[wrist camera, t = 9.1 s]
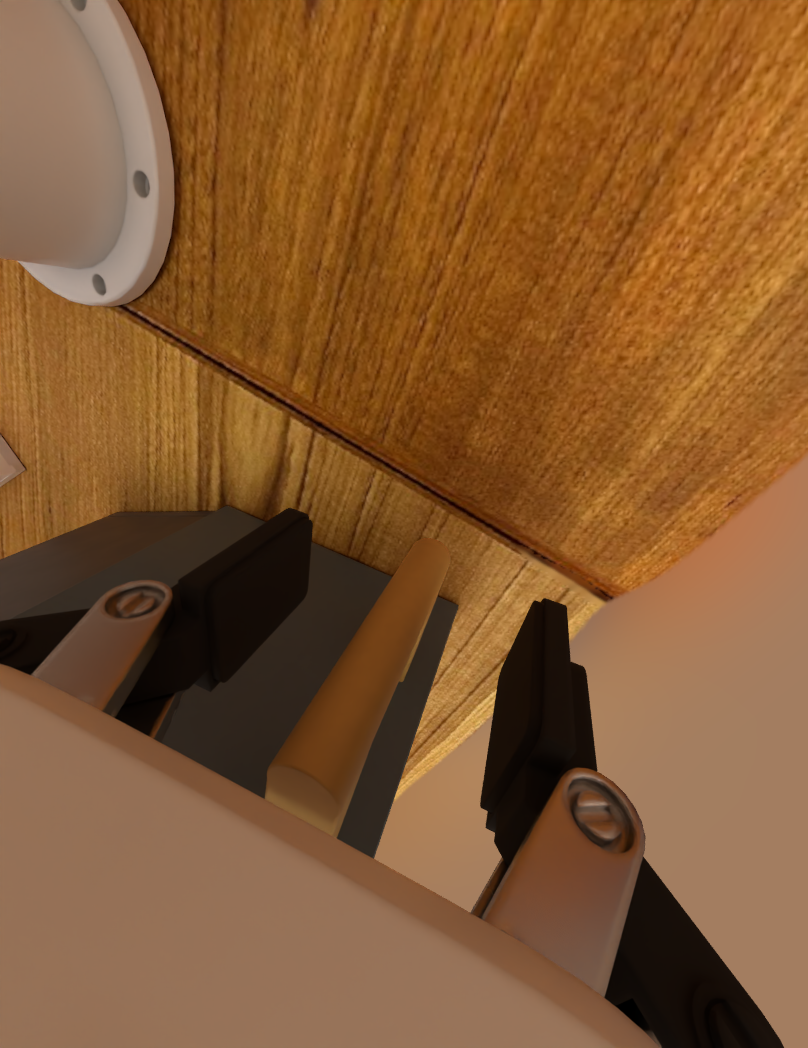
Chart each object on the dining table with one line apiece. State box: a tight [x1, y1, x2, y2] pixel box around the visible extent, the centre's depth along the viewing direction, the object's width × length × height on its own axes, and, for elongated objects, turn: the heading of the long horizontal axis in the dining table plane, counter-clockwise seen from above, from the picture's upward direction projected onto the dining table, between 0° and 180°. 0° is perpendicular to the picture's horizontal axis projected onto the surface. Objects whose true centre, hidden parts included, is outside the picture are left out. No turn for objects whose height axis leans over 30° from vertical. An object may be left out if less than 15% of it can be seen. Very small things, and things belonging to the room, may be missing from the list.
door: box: [8, 506, 458, 859], centre depth 14 cm, size 7×16×15 cm, turn 75°
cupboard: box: [0, 511, 215, 621], centre depth 23 cm, size 10×16×16 cm, turn 9°
